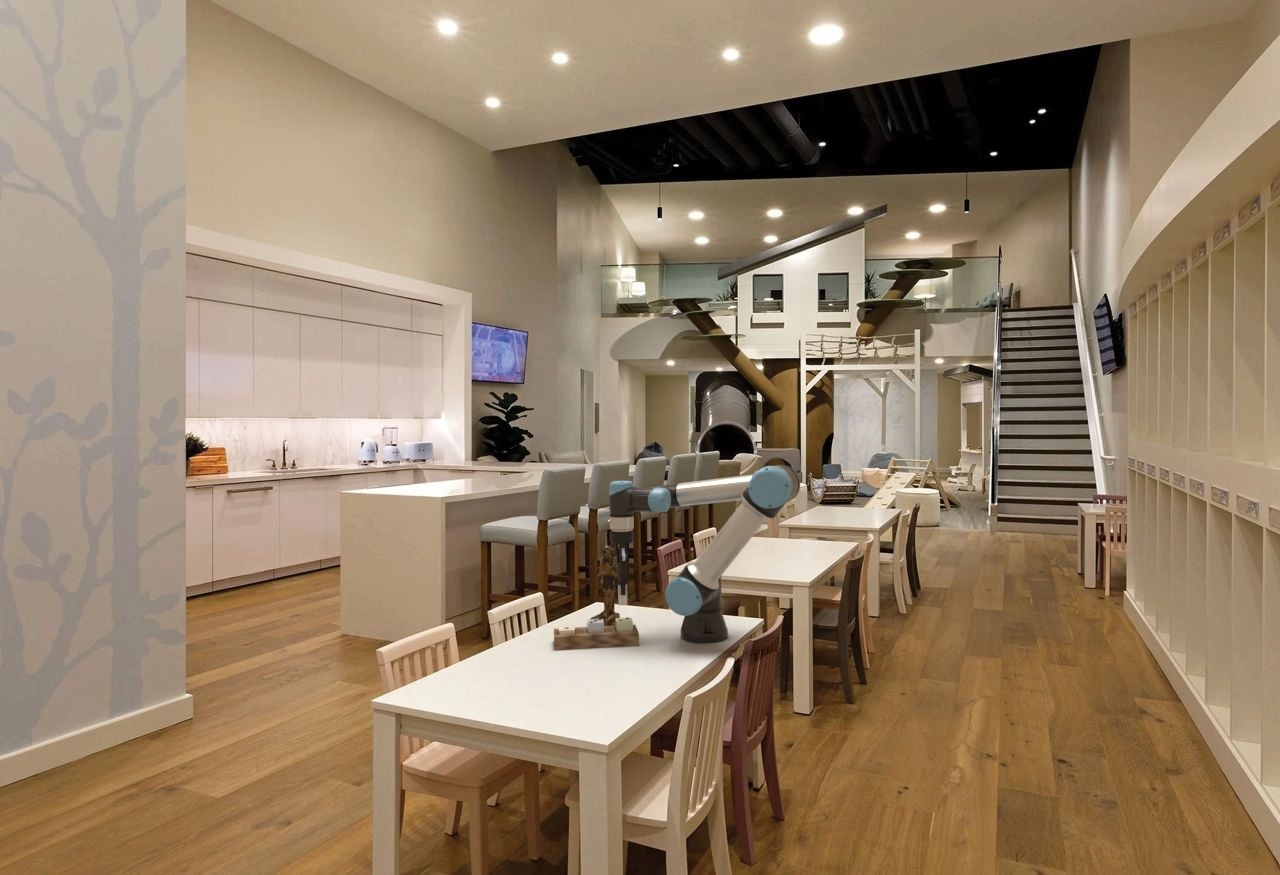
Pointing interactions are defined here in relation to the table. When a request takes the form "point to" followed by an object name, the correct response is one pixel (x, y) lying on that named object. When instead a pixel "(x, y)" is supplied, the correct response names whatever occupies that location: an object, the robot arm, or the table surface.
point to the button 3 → (595, 626)
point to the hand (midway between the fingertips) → (622, 604)
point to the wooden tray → (595, 638)
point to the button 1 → (567, 630)
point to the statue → (608, 584)
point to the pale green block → (624, 624)
